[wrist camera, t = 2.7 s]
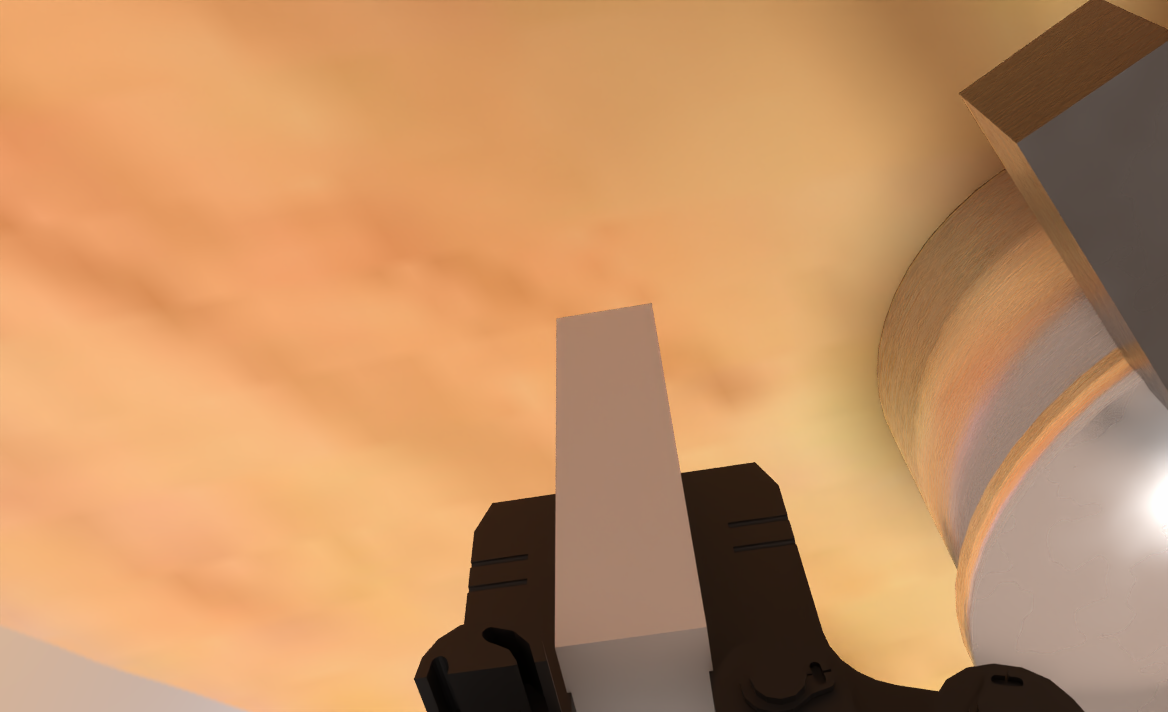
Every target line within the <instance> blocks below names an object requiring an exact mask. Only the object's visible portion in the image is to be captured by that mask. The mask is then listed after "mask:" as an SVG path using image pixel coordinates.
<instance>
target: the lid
mask: <svg viewBox="0 0 1168 712" xmlns="http://www.w3.org/2000/svg"><path fill="white" fill-rule="evenodd" d="M959 95H960V97H961V98H962V100H963V101H964V103H965V105H966V106H967V108H968V109H969V111H970V113H971V114H972V116H973V117H974V119H975V121H976V122H977V124H978V125H979V127H980V129H981V130H982V132H983V133H984V135H985V137H986V138H987V140H988V141H989V143H990V145H991V146H992V148H993V149H994V151H995V152H996V154H997V156H998V157H999V159H1000V160H1001V162H1002V164H1003V165H1004V167H1005V168H1006V170H1007V172H1008V173H1009V175H1010V176H1011V178H1012V180H1013V181H1014V183H1015V184H1016V186H1017V188H1018V189H1019V191H1020V192H1021V194H1022V196H1023V197H1024V199H1025V200H1026V202H1027V204H1028V205H1029V207H1030V208H1031V210H1032V212H1033V213H1034V215H1035V216H1036V218H1037V220H1038V221H1039V223H1040V224H1041V226H1042V228H1043V229H1044V231H1045V232H1046V234H1047V236H1048V237H1049V239H1050V240H1051V242H1052V244H1053V245H1054V247H1055V248H1056V250H1057V252H1058V253H1059V255H1060V256H1061V258H1062V260H1063V261H1064V263H1065V264H1066V266H1067V268H1068V269H1069V271H1070V272H1071V274H1072V276H1073V277H1074V279H1075V280H1076V282H1077V284H1078V285H1079V287H1080V288H1081V290H1082V292H1083V293H1084V295H1085V296H1086V298H1087V300H1088V301H1089V303H1090V304H1091V306H1092V308H1093V309H1094V311H1095V312H1096V314H1097V315H1098V317H1099V319H1100V320H1101V322H1102V323H1103V325H1104V327H1105V328H1106V330H1107V331H1108V333H1109V335H1110V336H1111V338H1112V339H1113V341H1114V343H1115V344H1116V346H1117V348H1115V349H1114V350H1113V351H1112V352H1110V353H1109V354H1108V355H1106V356H1105V357H1104V358H1103V359H1101V360H1100V361H1099V362H1098V363H1096V364H1095V365H1094V366H1092V367H1091V368H1090V369H1089V370H1087V371H1086V372H1085V373H1084V374H1082V375H1081V376H1080V377H1079V378H1078V379H1076V380H1075V381H1074V382H1073V383H1072V384H1071V385H1070V386H1069V387H1068V388H1067V389H1066V390H1065V391H1064V392H1063V393H1062V394H1061V395H1060V396H1059V397H1058V398H1057V399H1056V400H1055V401H1053V402H1052V403H1051V404H1050V405H1049V406H1048V407H1047V408H1046V409H1045V410H1044V411H1043V412H1042V413H1041V414H1040V415H1039V417H1038V418H1037V419H1036V420H1035V421H1034V423H1033V424H1032V425H1031V426H1030V427H1029V428H1028V430H1027V431H1026V432H1025V433H1024V434H1023V436H1022V437H1021V438H1020V439H1019V440H1018V441H1017V443H1016V444H1015V445H1014V446H1013V447H1012V449H1011V450H1010V452H1009V453H1008V455H1007V456H1006V458H1005V459H1004V461H1003V462H1002V464H1001V465H1000V467H999V468H998V470H997V471H996V473H995V474H994V476H993V477H992V479H991V480H990V482H989V483H988V485H987V487H986V489H985V491H984V493H983V495H982V497H981V499H980V501H979V503H978V505H977V507H976V510H975V512H974V514H973V516H972V518H971V520H970V523H969V526H968V529H967V532H966V536H965V539H964V542H963V545H962V548H961V551H960V556H959V563H958V570H957V577H956V584H955V590H956V612H957V619H958V623H959V627H960V631H961V635H962V639H963V643H964V645H965V647H966V649H967V652H968V654H969V656H970V658H971V660H972V663H973V665H974V666H980V665H986V664H992V663H994V664H1001V665H1009V666H1016V667H1022V668H1025V669H1027V670H1029V671H1032V672H1034V673H1036V674H1039V675H1041V676H1043V677H1045V678H1048V679H1050V680H1051V681H1052V682H1054V683H1055V684H1056V685H1057V686H1059V687H1060V688H1061V689H1062V690H1063V691H1065V692H1066V693H1067V694H1068V695H1069V696H1071V697H1072V698H1073V699H1074V700H1075V701H1076V703H1077V704H1078V705H1079V706H1080V707H1081V708H1082V709H1083V711H1084V712H1168V29H1165V28H1163V27H1161V26H1159V25H1157V24H1154V23H1152V22H1150V21H1148V20H1146V19H1144V18H1141V17H1139V16H1137V15H1135V14H1133V13H1130V12H1128V11H1126V10H1124V9H1122V8H1119V7H1117V6H1115V5H1113V4H1111V3H1109V2H1106V1H1104V0H1090V1H1088V2H1087V3H1085V4H1084V5H1083V6H1081V7H1080V8H1078V9H1077V10H1076V11H1074V12H1073V13H1071V14H1070V15H1068V16H1067V17H1066V18H1064V19H1063V20H1061V21H1060V22H1059V23H1057V24H1056V25H1054V26H1053V27H1052V28H1050V29H1049V30H1047V31H1046V32H1045V33H1043V34H1042V35H1040V36H1039V37H1038V38H1036V39H1035V40H1033V41H1032V42H1031V43H1029V44H1028V45H1026V46H1025V47H1024V48H1022V49H1021V50H1019V51H1018V52H1016V53H1015V54H1014V55H1012V56H1011V57H1009V58H1008V59H1007V60H1005V61H1004V62H1002V63H1001V64H1000V65H998V66H997V67H995V68H994V69H993V70H991V71H990V72H988V73H987V74H986V75H984V76H983V77H981V78H980V79H979V80H977V81H976V82H974V83H973V84H972V85H970V86H969V87H967V88H966V89H964V90H963V91H962V92H960V93H959Z"/></svg>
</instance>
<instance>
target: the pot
mask: <svg viewBox="0 0 1168 712" xmlns="http://www.w3.org/2000/svg"><path fill="white" fill-rule="evenodd" d="M1115 348H1117V346H1116V344H1115V343H1114V341H1113V339H1112V338H1111V336H1110V335H1109V333H1108V331H1107V330H1106V328H1105V327H1104V325H1103V323H1102V322H1101V320H1100V319H1099V317H1098V315H1097V314H1096V312H1095V311H1094V309H1093V308H1092V306H1091V304H1090V303H1089V301H1088V300H1087V298H1086V296H1085V295H1084V293H1083V292H1082V290H1081V288H1080V287H1079V285H1078V284H1077V282H1076V280H1075V279H1074V277H1073V276H1072V274H1071V272H1070V271H1069V269H1068V268H1067V266H1066V264H1065V263H1064V261H1063V260H1062V258H1061V256H1060V255H1059V253H1058V252H1057V250H1056V248H1055V247H1054V245H1053V244H1052V242H1051V240H1050V239H1049V237H1048V236H1047V234H1046V232H1045V231H1044V229H1043V228H1042V226H1041V224H1040V223H1039V221H1038V220H1037V218H1036V216H1035V215H1034V213H1033V212H1032V210H1031V208H1030V207H1029V205H1028V204H1027V202H1026V200H1025V199H1024V197H1023V196H1022V194H1021V192H1020V191H1019V189H1018V188H1017V186H1016V184H1015V183H1014V181H1013V180H1012V178H1011V176H1010V175H1009V173H1008V172H1007V170H1006V169H1005V170H1003V171H1002V172H1000V173H999V174H998V175H996V176H995V177H994V178H992V179H991V180H990V181H988V182H987V183H986V184H984V185H983V186H982V187H980V188H979V189H978V190H977V191H975V192H974V193H973V194H972V195H971V196H970V197H969V198H968V199H967V200H966V201H965V202H964V203H962V204H961V205H960V206H959V207H958V208H957V209H956V210H955V211H954V212H953V213H952V214H951V215H950V216H949V217H948V218H947V219H946V220H945V221H944V223H943V224H942V225H941V226H940V227H939V228H938V229H937V231H936V232H935V233H934V234H933V235H932V236H931V237H930V239H929V240H928V241H927V242H926V244H925V245H924V247H923V248H922V250H921V251H920V253H919V254H918V255H917V257H916V258H915V260H914V261H913V263H912V264H911V266H910V267H909V269H908V271H907V273H906V275H905V276H904V278H903V280H902V282H901V284H900V286H899V288H898V290H897V292H896V293H895V296H894V298H893V301H892V304H891V306H890V309H889V312H888V314H887V317H886V320H885V323H884V328H883V332H882V337H881V341H880V346H879V355H878V369H877V377H878V388H879V398H880V402H881V406H882V409H883V413H884V417H885V420H886V423H887V425H888V427H889V429H890V431H891V433H892V435H893V438H894V440H895V442H896V444H897V446H898V448H899V450H900V452H901V454H902V456H903V458H904V461H905V463H906V465H907V467H908V469H909V471H910V473H911V475H912V477H913V479H914V481H915V483H916V485H917V487H918V489H919V492H920V494H921V496H922V498H923V500H924V502H925V504H926V506H927V508H928V510H929V512H930V514H931V516H932V518H933V520H934V523H935V525H936V527H937V529H938V531H939V533H940V535H941V537H942V539H943V541H944V543H945V545H946V547H947V549H948V551H949V554H950V556H951V558H952V560H953V562H954V564H955V566H956V568H957V570H958V563H959V556H960V551H961V548H962V545H963V542H964V539H965V536H966V532H967V529H968V526H969V523H970V520H971V518H972V516H973V514H974V512H975V510H976V507H977V505H978V503H979V501H980V499H981V497H982V495H983V493H984V491H985V489H986V487H987V485H988V483H989V482H990V480H991V479H992V477H993V476H994V474H995V473H996V471H997V470H998V468H999V467H1000V465H1001V464H1002V462H1003V461H1004V459H1005V458H1006V456H1007V455H1008V453H1009V452H1010V450H1011V449H1012V447H1013V446H1014V445H1015V444H1016V443H1017V441H1018V440H1019V439H1020V438H1021V437H1022V436H1023V434H1024V433H1025V432H1026V431H1027V430H1028V428H1029V427H1030V426H1031V425H1032V424H1033V423H1034V421H1035V420H1036V419H1037V418H1038V417H1039V415H1040V414H1041V413H1042V412H1043V411H1044V410H1045V409H1046V408H1047V407H1048V406H1049V405H1050V404H1051V403H1052V402H1053V401H1055V400H1056V399H1057V398H1058V397H1059V396H1060V395H1061V394H1062V393H1063V392H1064V391H1065V390H1066V389H1067V388H1068V387H1069V386H1070V385H1071V384H1072V383H1073V382H1074V381H1075V380H1076V379H1078V378H1079V377H1080V376H1081V375H1082V374H1084V373H1085V372H1086V371H1087V370H1089V369H1090V368H1091V367H1092V366H1094V365H1095V364H1096V363H1098V362H1099V361H1100V360H1101V359H1103V358H1104V357H1105V356H1106V355H1108V354H1109V353H1110V352H1112V351H1113V350H1114V349H1115Z"/></svg>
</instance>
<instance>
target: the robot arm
mask: <svg viewBox="0 0 1168 712" xmlns="http://www.w3.org/2000/svg"><path fill="white" fill-rule="evenodd" d="M471 564H472V568H470V576H469V585H468V588H469V593H468V594H467V603H466V612H465V621H464V625H460V626H459V627H457V628H455V629H454V630H452V631H451V632H449V633H447V634H446V635H444V636H443V637H441V638H439V639H438V640H437V641H436V642H435V644H434V645H433V646H432V647H431V648H430V649H429V650H428V652H427V653H426V654H425V655H424V656H423V657H422V659H421V662H420V665H419V667H418V670H417V672H416V675H415V678H414V680H415V683H416V685H417V688H418V690H419V693H420V695H421V698H422V700H423V703H424V706H425V708H426V711H427V712H1084V711H1083V709H1082V708H1081V707H1080V706H1079V705H1078V704H1077V703H1076V701H1075V700H1074V699H1073V698H1072V697H1071V696H1069V695H1068V694H1067V693H1066V692H1065V691H1063V690H1062V689H1061V688H1060V687H1059V686H1057V685H1056V684H1055V683H1054V682H1052V681H1051V680H1050V679H1048V678H1045V677H1043V676H1041V675H1039V674H1036V673H1034V672H1032V671H1029V670H1027V669H1025V668H1022V667H1016V666H1009V665H1001V664H994V663H992V664H986V665H980V666H974V667H968V668H965V669H964V670H962V671H960V672H959V673H957V674H955V675H954V676H952V677H950V678H949V679H947V680H946V681H945V683H944V684H943V686H942V687H941V689H940V690H939V691H932V690H925V689H919V688H912V687H905V686H899V685H894V684H890V683H886V682H882V681H878V680H875V679H873V678H870V677H868V676H866V675H864V674H862V673H860V672H857V671H856V670H854V669H853V668H852V667H850V666H849V665H848V664H846V663H845V662H844V661H842V660H841V659H840V658H839V657H838V655H837V654H836V653H835V652H834V651H833V650H832V648H831V647H830V646H829V644H828V642H827V640H826V637H825V635H824V633H823V631H822V628H821V624H820V621H819V618H818V614H817V611H816V608H815V604H814V601H813V598H812V594H811V591H810V588H809V585H808V581H807V578H806V575H805V571H804V568H803V565H802V561H801V558H800V555H799V551H798V548H797V545H796V544H795V538H794V535H793V532H792V528H791V525H790V522H789V520H788V516H787V512H786V508H785V505H784V502H783V499H782V495H781V492H780V489H779V485H778V484H777V483H776V482H775V481H774V480H773V479H772V478H771V477H770V476H769V475H767V474H766V473H765V472H764V471H763V470H762V469H761V468H760V467H759V466H758V465H757V464H756V463H755V462H753V463H747V464H740V465H733V466H726V467H719V468H713V469H706V470H699V471H692V472H685V473H680V467H679V461H678V455H677V449H676V443H675V438H674V432H673V426H672V420H671V414H670V408H669V402H668V396H667V391H666V385H665V379H664V373H663V367H662V361H661V355H660V349H659V343H658V338H657V332H656V326H655V320H654V314H653V308H652V303H650V304H644V305H638V306H631V307H625V308H619V309H613V310H606V311H600V312H594V313H588V314H581V315H575V316H569V317H563V318H557V333H556V494H552V495H545V496H539V497H532V498H525V499H518V500H511V501H504V502H498V503H492V505H491V506H490V508H489V509H488V511H487V513H486V514H485V516H484V517H483V519H482V520H481V522H480V524H479V525H478V527H477V528H476V530H475V532H474V539H473V548H472V557H471Z"/></svg>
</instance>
